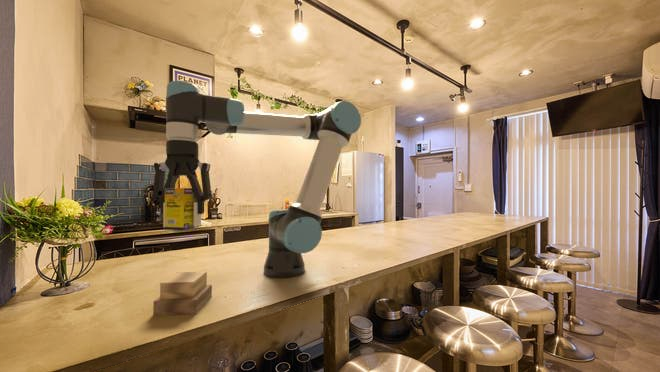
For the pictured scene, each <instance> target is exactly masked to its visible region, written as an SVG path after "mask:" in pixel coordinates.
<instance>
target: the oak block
mask: <svg viewBox="0 0 660 372" xmlns="http://www.w3.org/2000/svg"><path fill="white" fill-rule="evenodd" d="M207 274H208V273H207V271H183V272H182V271H181V272H180V271H179V272H176V273H174V274H172V275H171V276H169V277H168V278H166V279H164V280H163V281H161V282H160V283H159V284H160V285H159V286H160V287H159V289H160V290H159V292H160V293H159V297H160V299H179V298H194V297H195V296H196V295H197V294H198V293H200V292H201V291H202V290H203V289H204V288H205V287H206V286H207V285H208V284H207V283H208V281H207V277H208V275H207Z"/></svg>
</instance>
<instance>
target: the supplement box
mask: <svg viewBox="0 0 660 372" xmlns="http://www.w3.org/2000/svg"><path fill="white" fill-rule="evenodd" d="M196 201H197V200H196V197H195V195H194V192H193V190H192V187H174V188H165V228H164V230H165V231H186V230H190V229H195V228H200V226H198V227H194V202H196Z"/></svg>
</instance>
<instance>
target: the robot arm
mask: <svg viewBox="0 0 660 372" xmlns="http://www.w3.org/2000/svg"><path fill="white" fill-rule="evenodd" d="M358 109H359V108H358V107H356V105H355V104H354V103H352V102H350V101H347V100H340V101H337V102H335V103H333V104H332V105H331V106H328V107H327V108H326V109H324V110H322V111H321V112H318V113H314V114H307V113H306V114H303V116H301V115H300V116H298V115H288V114H274V113H264V112H251V111H245V106H244V103H243V101H242V100H239V99H234V98H232V97H223V96H216V95H209V94H203V93H200V91H199V87H198V86H196V85H195V84H193V83H191V82H188V81H184V80H172V81H170V82H168V83H167V86H166V96H165V112H166V113H165V115H166V116H165V117H166V121H165V122H166V125H165V127H166V130H165V137H166V139H167V141H166V142H165V143H166V145H165V153H166V159H165V160H164V161H162V162H154V163H153V167H154V180H153V188H152V196H151V199H152V200H153V201H158V202H159V203H160V204H159V205H160V206H159V207H160V209H159V212H160V215H163V216H162V217H163V222H162V223H163V225H162V227H163V228H164V229H165V188H175V186H176V184H177V181H178V179H179V178H180V177H183V176H185V177H186V178H187V179H188V182H189V185H190V188H192V190H193V192H194V195H195V197H196V200H197V201H196V202H194V227H197V228H199V227H201V226H202V215H203V214H205V203H206V201H208V200H211V199H212V198H213V197H212V195H213V194H212V186H211V180H210V179H211V177H210V170H211V164H210V163H207V162H201V161H200V159H199V143H198V142H199V122H202V123H205V125H206V128H207V130H208V131H209V132H211V134H213V135H216V136H217V135H218V136H221V135H224V134H241V135H243V134H245V135H260V136H261V135H264V136H285V137H288V136H289V137H302V139H303V140H313V141H318V142H317V146H316V148H315V151H314V153H313V156H312V159H311V162H310V164H309V167H308V169H307V172H306V175H305V177H304V179H303V182H302V185H301V188H300V190H299V194H298V195H297V198H296V200H295V202H293V203H292V204H290V205H289V206H288V208H287V209H279V210H278V209H275V210H271V211H270V212H269V214H268V253H267V256H266V259H265V262H264V264H263V274H264V275H265V276H267V277H271V278H278V279H279V278H281V279H282V278H284V279H285V278H292V277H296V276H299V275H300V276H301V275H302V274H303V273H304V272H305V261H304V258H303V255H302V254H307V253H309V252H312V251H314V250H315V249H316V248H317V247H318V245H319V244H320V242H321V240H322V236H323V229H322V227H321V222H322V219H323V215H322V213H321V208H322V206H323V203H324V201H325V197H326V194H327V191H328V188H329V186H330V183H331V181H332V178H333V175H334V172H335V169H336V167H337V164H338V160H339V158H340V155H341V154H342V150H343V148H345V147H347V146H349V143H350V139H351V137H352V134H355V133H356V132H358V131H359V129H360V128H361V126H362V116H361V114H360V111H359V110H358ZM167 168H168V174H167V178H166V170H167ZM198 168H199V170H200V178H201V184H200V182H199V179H198V176H197V173H196V170H197V169H198ZM165 179H166V181H165ZM201 186H202V188H201ZM198 226H199V227H198Z"/></svg>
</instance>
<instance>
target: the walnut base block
mask: <svg viewBox="0 0 660 372" xmlns="http://www.w3.org/2000/svg"><path fill="white" fill-rule="evenodd" d="M212 287H213V285H212V284H207V286H206V287H205V288H204V289H203V290H202V291H201V292H200V293H198V294H197V295H196V296H195V297H194V298H179V299H160V296H159V297H157V298H156V299H155V300H153V301H152V302H153V307H152V310H153V312H152V313H153V315H152V316H153V317H155V316H156V317H157V316H159V317H160V316H182V315H183V316H185V315H186V316H187V315H190V316H192V315H197V314H198V313H199V312H200V311H201V309H202V308H203V307H204V306H205V305H206V304H207V303H208V302H209V301H210V300H211V298H212V296H213V295H212V294H213V293H212V292H213V289H212Z"/></svg>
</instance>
